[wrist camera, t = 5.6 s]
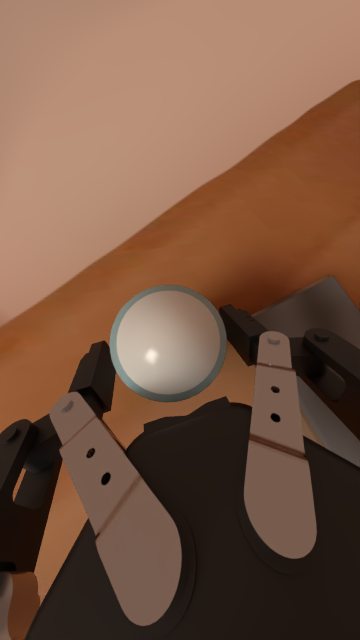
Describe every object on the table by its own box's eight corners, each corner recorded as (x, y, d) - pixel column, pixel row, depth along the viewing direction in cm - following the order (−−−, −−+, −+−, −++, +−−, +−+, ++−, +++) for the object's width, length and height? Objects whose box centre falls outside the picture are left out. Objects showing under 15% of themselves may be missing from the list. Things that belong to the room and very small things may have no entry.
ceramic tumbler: (184, 317, 18) (193, 267, 8) (207, 360, 17) (249, 365, 7) (140, 338, 17) (91, 313, 7) (161, 384, 16) (138, 427, 6)
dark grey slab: (300, 289, 19) (333, 272, 15) (380, 403, 16) (444, 417, 12) (231, 325, 18) (246, 316, 14) (304, 452, 15) (348, 485, 11)
